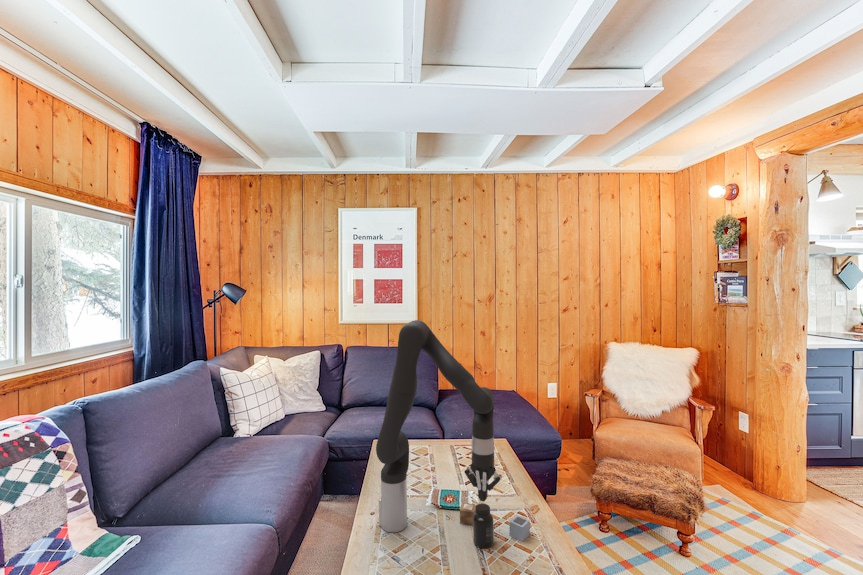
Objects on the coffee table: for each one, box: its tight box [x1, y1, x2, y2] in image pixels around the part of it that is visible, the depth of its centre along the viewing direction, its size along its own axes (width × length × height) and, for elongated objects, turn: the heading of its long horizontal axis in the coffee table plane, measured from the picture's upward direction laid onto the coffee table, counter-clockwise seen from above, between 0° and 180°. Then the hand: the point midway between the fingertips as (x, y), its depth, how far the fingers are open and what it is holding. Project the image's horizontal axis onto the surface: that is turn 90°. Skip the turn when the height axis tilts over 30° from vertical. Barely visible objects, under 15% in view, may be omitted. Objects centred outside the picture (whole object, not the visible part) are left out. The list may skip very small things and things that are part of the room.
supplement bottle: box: [472, 502, 495, 549], centre depth 134 cm, size 7×7×12 cm
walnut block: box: [459, 502, 477, 526], centre depth 146 cm, size 5×5×5 cm
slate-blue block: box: [509, 514, 531, 543], centre depth 137 cm, size 5×5×5 cm
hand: (482, 499), depth 133 cm, fingers closed
